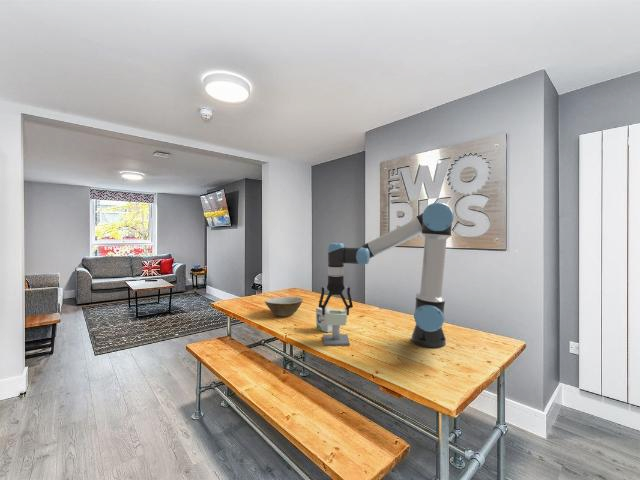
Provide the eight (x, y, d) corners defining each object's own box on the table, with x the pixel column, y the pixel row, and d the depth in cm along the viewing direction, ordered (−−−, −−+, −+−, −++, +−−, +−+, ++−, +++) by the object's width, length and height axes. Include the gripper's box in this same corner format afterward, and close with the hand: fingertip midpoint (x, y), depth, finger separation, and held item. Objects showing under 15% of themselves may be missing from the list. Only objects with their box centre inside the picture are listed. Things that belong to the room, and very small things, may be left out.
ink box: (334, 330, 160) (334, 308, 159) (327, 333, 156) (327, 310, 156) (322, 327, 166) (322, 305, 165) (315, 329, 162) (315, 307, 162)
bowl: (271, 309, 204) (271, 294, 204) (306, 310, 201) (306, 295, 200) (259, 319, 181) (259, 302, 180) (298, 320, 177) (298, 304, 177)
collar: (343, 319, 149) (344, 309, 149) (345, 325, 140) (345, 314, 140) (325, 319, 149) (325, 309, 149) (326, 325, 140) (326, 314, 140)
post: (347, 336, 151) (347, 314, 151) (349, 345, 139) (349, 322, 139) (323, 336, 151) (323, 314, 150) (323, 345, 139) (323, 322, 139)
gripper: (357, 274, 148) (357, 319, 149) (313, 274, 148) (313, 319, 148) (359, 276, 140) (359, 324, 141) (312, 276, 140) (312, 324, 141)
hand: (335, 321), depth 145 cm, fingers closed on collar, 9 cm apart
